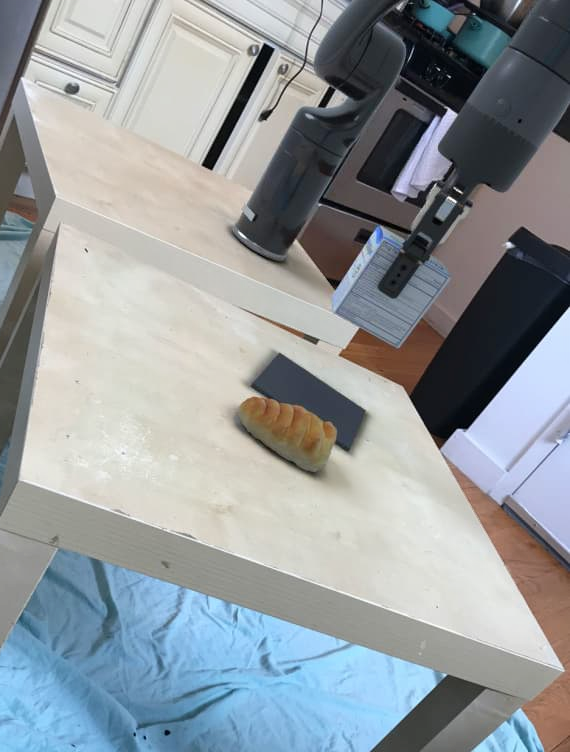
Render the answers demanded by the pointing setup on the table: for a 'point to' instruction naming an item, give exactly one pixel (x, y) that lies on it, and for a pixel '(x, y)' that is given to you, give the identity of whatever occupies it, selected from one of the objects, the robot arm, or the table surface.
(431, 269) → the medicine box
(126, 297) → the table surface
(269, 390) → the mat
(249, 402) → the pastry
